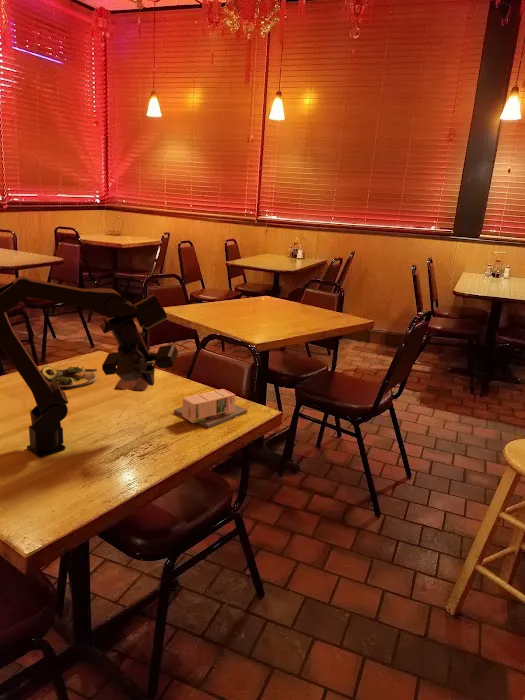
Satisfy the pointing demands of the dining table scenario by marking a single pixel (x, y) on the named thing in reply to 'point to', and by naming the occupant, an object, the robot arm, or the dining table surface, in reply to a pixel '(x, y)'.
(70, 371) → the salad plate
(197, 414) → the syrup box
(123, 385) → the wooden tablet
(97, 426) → the dining table surface
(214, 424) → the slate board
